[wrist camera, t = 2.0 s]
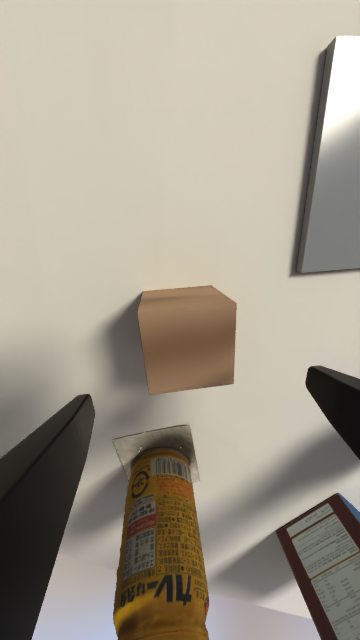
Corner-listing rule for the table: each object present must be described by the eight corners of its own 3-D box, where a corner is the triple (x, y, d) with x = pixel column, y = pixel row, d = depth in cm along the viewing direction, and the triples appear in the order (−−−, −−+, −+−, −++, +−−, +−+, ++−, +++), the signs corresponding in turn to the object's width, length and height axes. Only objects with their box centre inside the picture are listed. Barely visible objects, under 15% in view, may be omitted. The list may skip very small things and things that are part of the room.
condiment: (134, 493, 22) (111, 751, 11) (113, 438, 19) (51, 717, 8) (199, 478, 22) (243, 713, 11) (189, 421, 19) (235, 666, 8)
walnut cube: (211, 345, 17) (233, 384, 12) (151, 352, 16) (149, 395, 12) (211, 285, 15) (236, 303, 10) (143, 291, 14) (137, 312, 10)
